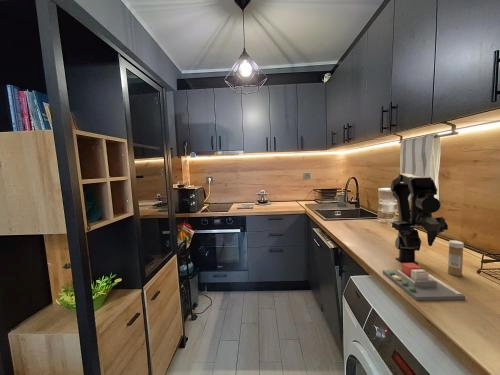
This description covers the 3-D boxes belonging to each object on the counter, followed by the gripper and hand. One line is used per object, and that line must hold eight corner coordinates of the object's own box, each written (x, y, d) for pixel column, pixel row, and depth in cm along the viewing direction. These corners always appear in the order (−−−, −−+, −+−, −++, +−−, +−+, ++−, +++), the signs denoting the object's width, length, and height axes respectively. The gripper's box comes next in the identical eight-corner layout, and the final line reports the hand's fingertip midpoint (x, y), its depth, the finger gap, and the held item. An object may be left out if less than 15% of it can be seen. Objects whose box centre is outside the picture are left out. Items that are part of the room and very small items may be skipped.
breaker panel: (382, 273, 97) (382, 265, 97) (421, 272, 97) (421, 264, 96) (416, 300, 77) (416, 291, 77) (464, 299, 77) (465, 290, 76)
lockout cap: (401, 273, 93) (402, 263, 93) (412, 273, 93) (413, 262, 93) (409, 278, 89) (409, 267, 89) (420, 278, 89) (421, 267, 88)
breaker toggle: (410, 279, 88) (410, 269, 88) (422, 279, 88) (422, 269, 88) (416, 283, 85) (416, 272, 85) (428, 283, 85) (428, 272, 85)
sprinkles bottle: (464, 275, 93) (466, 242, 92) (458, 277, 91) (460, 244, 90) (451, 270, 97) (452, 239, 96) (444, 272, 95) (446, 241, 94)
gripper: (409, 212, 84) (408, 254, 86) (461, 211, 84) (459, 252, 85) (391, 207, 95) (390, 244, 97) (437, 206, 95) (435, 243, 96)
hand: (418, 246), depth 94 cm, fingers open, 9 cm apart
